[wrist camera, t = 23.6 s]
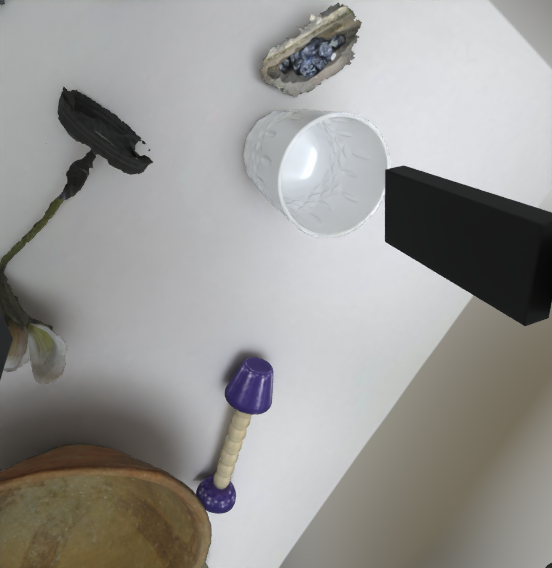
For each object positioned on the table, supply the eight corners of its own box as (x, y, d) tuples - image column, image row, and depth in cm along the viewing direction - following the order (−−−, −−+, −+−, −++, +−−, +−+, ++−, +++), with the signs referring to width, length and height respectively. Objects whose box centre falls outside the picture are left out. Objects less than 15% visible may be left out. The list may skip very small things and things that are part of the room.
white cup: (288, 217, 40) (340, 258, 31) (216, 165, 36) (253, 195, 27) (343, 142, 38) (412, 163, 30) (274, 79, 35) (332, 83, 26)
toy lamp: (200, 520, 45) (251, 381, 39) (183, 483, 48) (228, 351, 43) (241, 508, 47) (294, 378, 42) (222, 474, 51) (269, 350, 45)
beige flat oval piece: (373, 0, 30) (361, -16, 31) (260, 23, 29) (250, 5, 30) (354, 84, 36) (345, 68, 37) (260, 106, 35) (252, 90, 36)
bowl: (-27, 351, 35) (-67, 442, 27) (226, 412, 46) (256, 490, 38) (-112, 554, 40) (-169, 686, 31) (136, 565, 51) (144, 665, 42)
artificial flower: (168, 147, 35) (213, 212, 29) (13, 345, 40) (21, 440, 33) (59, 69, 29) (84, 129, 22) (-109, 317, 34) (-129, 426, 27)
